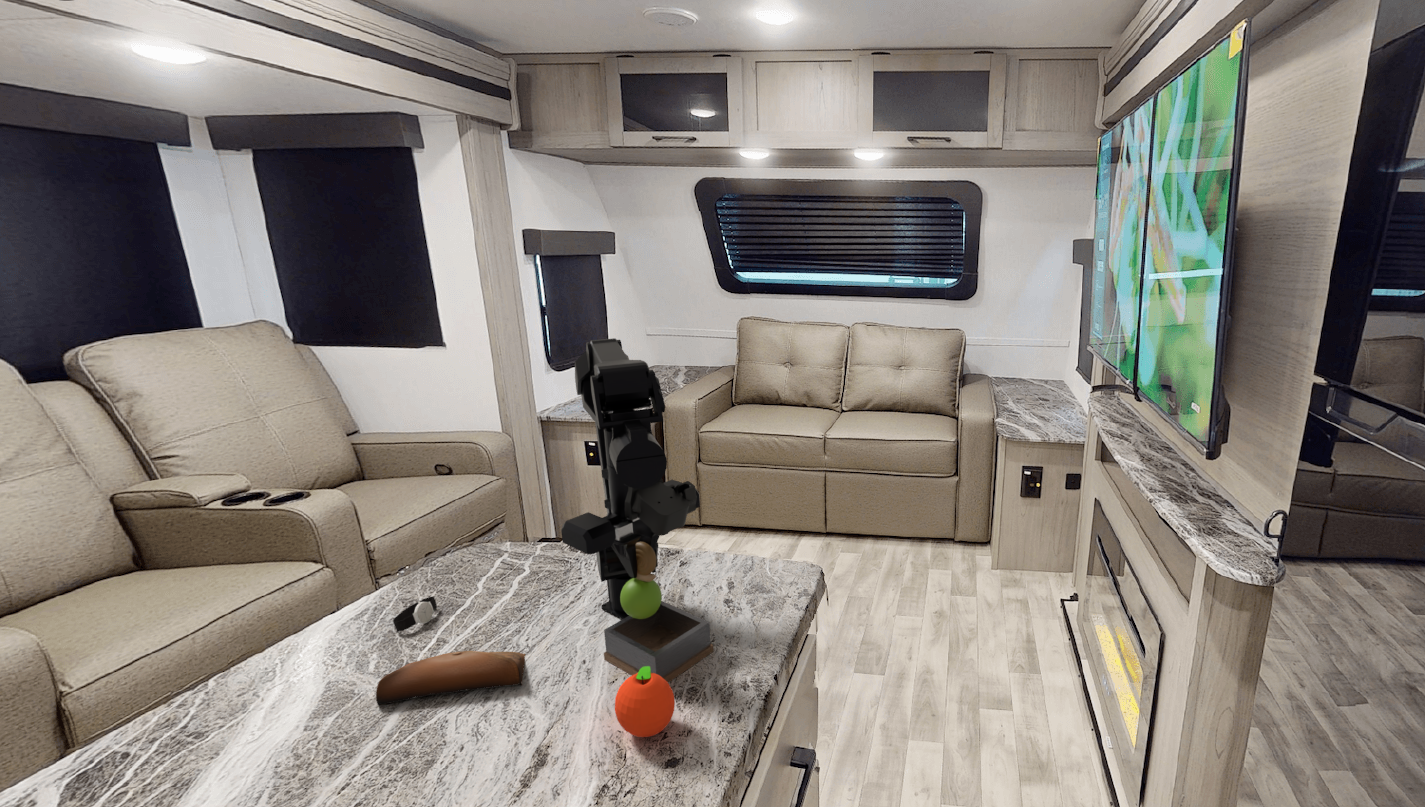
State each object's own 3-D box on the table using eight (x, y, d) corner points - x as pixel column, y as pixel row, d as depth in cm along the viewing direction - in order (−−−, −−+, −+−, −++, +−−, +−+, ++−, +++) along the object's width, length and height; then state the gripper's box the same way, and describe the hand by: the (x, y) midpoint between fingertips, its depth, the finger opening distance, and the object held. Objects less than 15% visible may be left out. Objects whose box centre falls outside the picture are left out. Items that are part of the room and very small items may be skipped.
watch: (411, 637, 103) (407, 615, 102) (386, 633, 104) (382, 611, 104) (445, 610, 110) (442, 590, 109) (421, 607, 112) (418, 586, 111)
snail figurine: (634, 601, 95) (635, 518, 93) (669, 615, 92) (671, 529, 90) (606, 615, 91) (606, 528, 89) (641, 631, 87) (642, 541, 85)
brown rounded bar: (529, 650, 97) (521, 627, 93) (527, 699, 92) (519, 677, 88) (395, 668, 95) (381, 645, 90) (386, 719, 90) (370, 698, 85)
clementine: (623, 705, 85) (618, 653, 83) (679, 703, 85) (675, 652, 83) (612, 752, 77) (606, 696, 76) (674, 750, 77) (669, 695, 75)
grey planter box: (604, 659, 94) (601, 630, 93) (660, 625, 102) (658, 598, 101) (657, 690, 87) (654, 658, 86) (713, 651, 95) (711, 622, 94)
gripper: (610, 499, 75) (622, 627, 79) (727, 454, 88) (732, 566, 92) (552, 477, 82) (566, 595, 86) (667, 439, 95) (675, 543, 99)
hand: (639, 574), depth 91 cm, fingers closed on snail figurine
